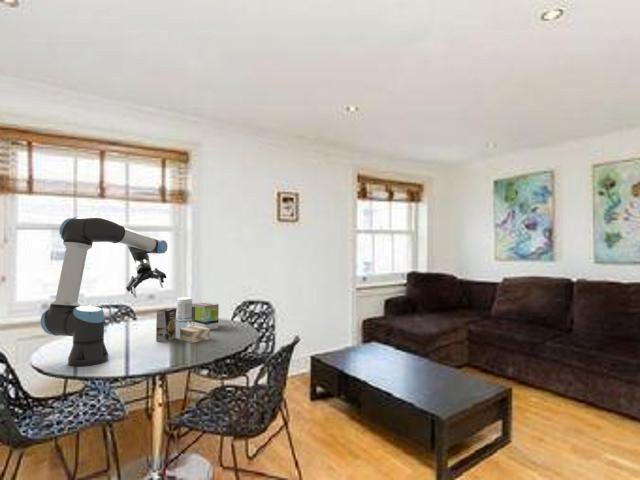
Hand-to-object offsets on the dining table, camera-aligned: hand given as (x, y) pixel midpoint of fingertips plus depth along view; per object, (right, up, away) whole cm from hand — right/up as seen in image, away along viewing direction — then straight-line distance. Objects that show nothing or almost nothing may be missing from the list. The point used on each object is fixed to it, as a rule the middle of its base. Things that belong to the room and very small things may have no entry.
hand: (148, 290), depth 207 cm
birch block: (+21, -27, +9) cm, 36 cm away
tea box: (+18, -27, +38) cm, 50 cm away
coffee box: (+6, -27, +7) cm, 29 cm away
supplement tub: (-1, -27, +59) cm, 65 cm away
